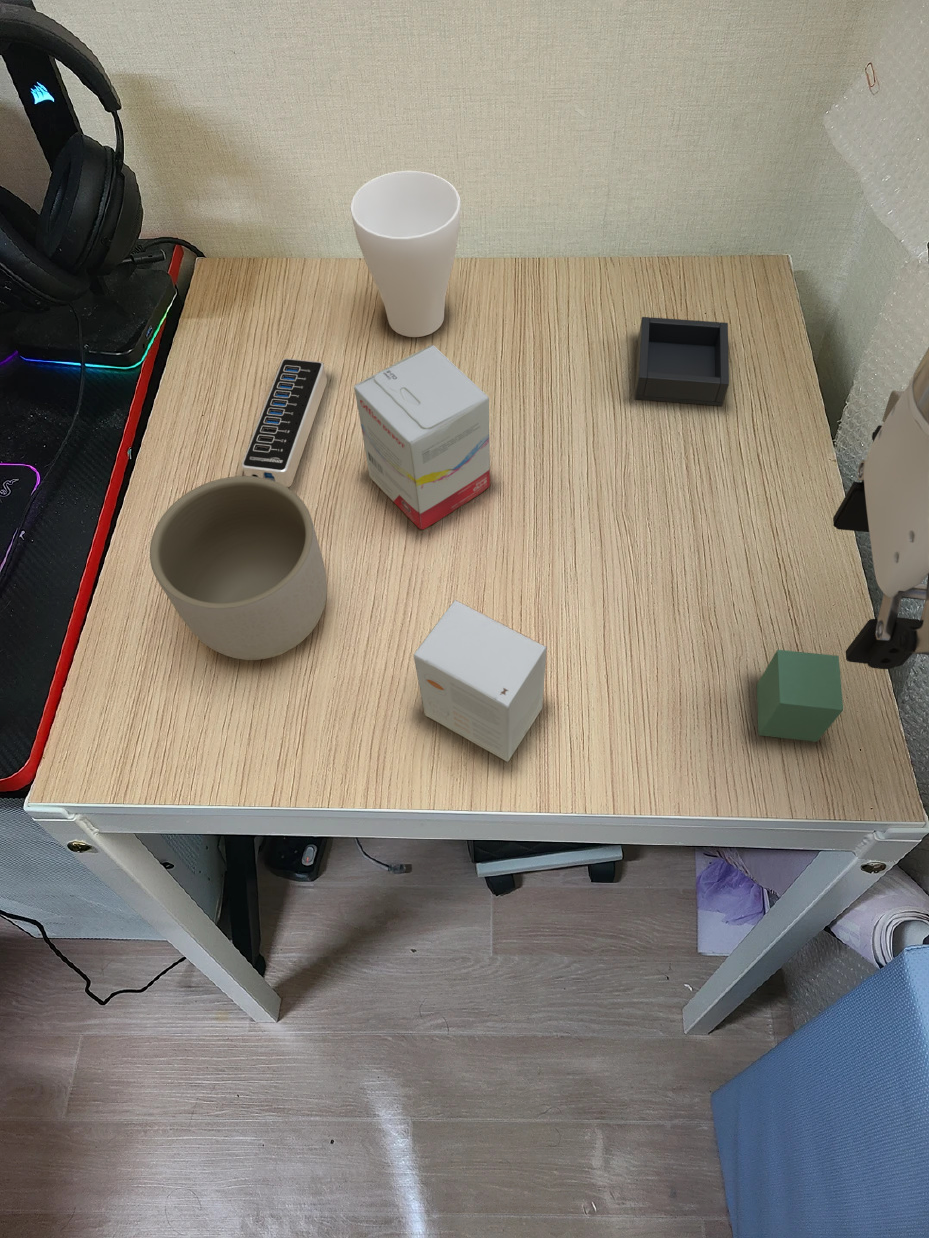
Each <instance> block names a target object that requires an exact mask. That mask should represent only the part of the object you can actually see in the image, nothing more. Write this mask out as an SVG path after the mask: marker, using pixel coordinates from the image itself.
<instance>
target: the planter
mask: <svg viewBox="0 0 929 1238" xmlns="http://www.w3.org/2000/svg"><path fill="white" fill-rule="evenodd" d="M149 562H150V566H151V570H152V573H153V575H154V577H155V578H156V581H157V582H158V584H159V586H160V587H161V589H162V591H163V592H164V593H165V595H166V596H167V598H168V599H169V601H170V602H171V604H172V606H173V607H174V609H175V610H176V612H177V614H178V615H179V617H180V618H181V620H182V621H183V622H184V624H185V625H186V626H187V628H188V629H189V630H190V632H191V633H192V634H193V635H194V636H195V637H196V638H197V639H198V640H199V641H200V642H202V644H204V645H205V646H206V647H208V648H209V649H211V650H213V651H214V652H217V653H219V654H221V655H223V656H226V657H229V658H233V659H236V660H243V661H257V660H258V661H259V660H267V659H271V658H275V657H278V656H280V655H282V654H284V653H287V652H289V651H290V650H292V649H294V648H295V647H297V646H298V645H300V644H301V643H302V642H303V641H304V640H305V639H306V638H307V637H308V636H309V635H310V634H311V633H312V632H313V630H314V629H315V628H316V626H317V624H318V623H319V621H320V619H321V617H322V614H323V612H324V609H325V605H326V601H327V595H328V581H327V571H326V567H325V562H324V558H323V554H322V550H321V547H320V543H319V539H318V536H317V532H316V529H315V525H314V521H313V518H312V515H311V513H310V510H309V509H308V507H307V505H306V504H305V502H304V501H303V499H302V498H301V497H299V495H298V494H297V493H296V492H294V491H293V490H292V489H290V487H286V486H284V485H282V484H280V483H278V482H275V481H272V480H269V479H266V478H261V477H254V476H245V475H237V476H235V475H234V476H228V477H222V478H217V479H215V480H211V481H209V482H205V483H203V484H201V485H199V486H197V487H195V488H193V489H191V490H190V491H188V492H186V493H184V494H183V495H181V497H179V498H178V499H177V500H176V501H175V502H173V503H172V505H170V507H168V509H166V511H165V512H164V514H162V515H161V518H160V519H159V520H158V522H157V524H156V526H155V529H154V531H153V533H152V535H151V540H150V545H149Z"/></svg>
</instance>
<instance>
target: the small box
mask: <svg viewBox="0 0 929 1238" xmlns="http://www.w3.org/2000/svg"><path fill="white" fill-rule="evenodd" d="M413 660H414V664H415V665H414V667H415V670H416V671H415V672H416V676H417V677H416V678H417V681H418V688H419V692H420V698H421V703H422V708H423V713H424V715H425V717H427V718H429V719H431V720H433V721H435V722H436V723H438V724H440V725H442V726H443V727H445V728H447V729H448V730H449V731H452V732H454V733H456V734H457V735H459V736H461V737H462V738H464V739H466V740H467V741H469V742H471V743H473V744H475V745H477V746H478V747H480V748H482V749H484V750H486V751H488V752H489V753H491V754H492V755H494V756H496V757H498V758H500V759H501V760H503V761H505V762H506V763H507V762H509V761H510V759H511V758H512V756H513V755H514V753H515V752H516V750H517V749H518V747H519V746H520V744H521V743H522V741H523V739H524V738H525V736H526V734H527V733H528V732H529V730H530V728H531V727H532V726H533V724H534V722H535V721H536V719H537V717H538V716H539V714H540V712H541V711H542V709H543V704H544V703H543V702H544V688H545V677H546V675H545V674H546V663H547V646H546V645H545V644H542V643H540V642H538V641H536V640H535V639H534V638H533V639H532V638H530V637H528V636H527V635H525V634H523V633H521V632H519V631H517V630H515V629H513V628H512V627H509V626H507V625H505V624H503V623H501V622H499V621H497V620H495V619H494V618H492V617H490V616H488V615H486V614H484V613H482V612H480V611H478V610H476V609H474V608H472V607H471V606H468V605H466V604H464V603H462V602H461V601H459V600H458V599H454V600H453V601H452V603H451V604H450V605H449V607H448V608H447V609H446V611H445V612H444V613H443V614H442V616H441V617H440V619H439V620H438V621H437V623H436V624H435V626H433V628H432V629H431V630H430V632H429V633H428V635H426V636H425V638H424V640H423V641H422V642H421V644H420V645H419V646H418V648H417V649H416V651H414V653H413Z"/></svg>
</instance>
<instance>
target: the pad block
mask: <svg viewBox="0 0 929 1238" xmlns="http://www.w3.org/2000/svg"><path fill="white" fill-rule="evenodd" d="M756 701H757V704H756V705H757V730H758V731H757V733H758V734H757V735H758V736H761V737H762V736H763V737H771V738H782V739H789V740H790V739H791V740H798V741H807V742H818V741H819V740H820V739H821V738H822V737H823V736H824V734H825V733H826V732H827V731H828V730H829V728H830V727H831V726H832V725H833V723H835V721H836V720H837V718H839V716H840V715H841V714H842V713H843V712H844V702H843V701H844V700H843V690H842V677H841V665H840V657H839V655H833V654H824V653H814V652H807V651H806V652H805V651H795V650H788V649H787V650H785V649H777V650H776V651H775V653H774V655H773V656H772V658H771V659H770V661H769V663H768V665H767V666H766V668H765V669H764V671H763V673H762V675H761V677H760V679H758V682H757V683H756Z"/></svg>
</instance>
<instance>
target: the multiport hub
mask: <svg viewBox="0 0 929 1238" xmlns="http://www.w3.org/2000/svg"><path fill="white" fill-rule="evenodd" d="M324 364H325V363H323V362H322V361H314V360H304V359H295V358H282V360H281V361H280V364H279V367H278V369H277V372H276V374H275V376H274V379H273V382H272V384H271V387H270V390H269V392H268V395H267V397H266V400H265V402H264V405H263V408H262V410H261V413H260V414H259V415H260V416H259V418H258V420H257V423H256V426H255V428H254V431H253V433H252V436H251V438H250V441H249V443H248V446H247V448H246V451H245V454H244V457H243V459H242V462H241V468H242V471H243V473H244V476H254V477H261V478H266V479H269V480H272V481H275V482H278V483H280V484H282V485H284V486H286V487H287V488H291V486H292V485H293V483H294V480H295V477H296V473H297V471H298V468H299V465H300V462H301V459H302V456H303V453H304V451H305V447H306V445H307V442H308V439H309V436H310V433H311V430H312V427H313V424H314V422H315V418H316V416H317V413H318V410H319V407H320V404H321V401H322V398H323V396H324V393H325V390H326V386H327V383H328V377H327V373H326V368H325V365H324Z"/></svg>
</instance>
